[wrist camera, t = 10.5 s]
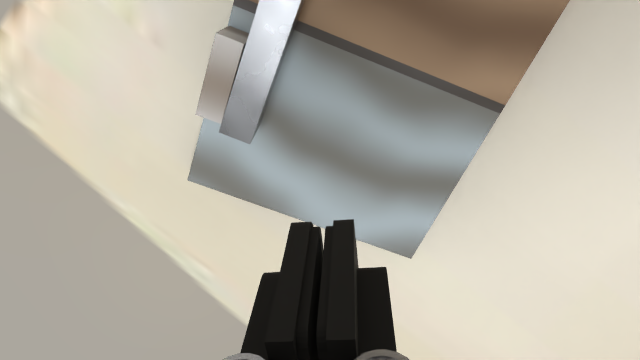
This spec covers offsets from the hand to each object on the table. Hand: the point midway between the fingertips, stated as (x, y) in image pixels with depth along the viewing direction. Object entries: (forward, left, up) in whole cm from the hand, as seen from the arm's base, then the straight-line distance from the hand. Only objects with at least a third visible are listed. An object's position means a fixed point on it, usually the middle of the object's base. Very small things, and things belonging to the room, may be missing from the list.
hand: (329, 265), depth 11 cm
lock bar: (-3, -5, -17) cm, 18 cm away
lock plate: (-1, +1, -19) cm, 19 cm away
